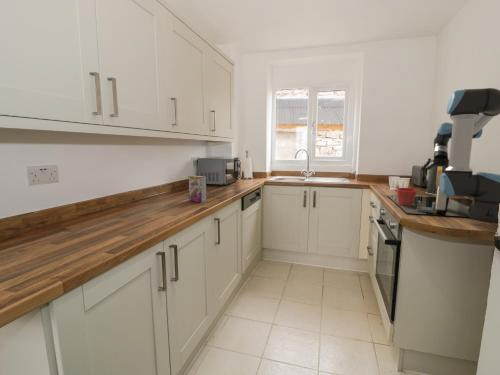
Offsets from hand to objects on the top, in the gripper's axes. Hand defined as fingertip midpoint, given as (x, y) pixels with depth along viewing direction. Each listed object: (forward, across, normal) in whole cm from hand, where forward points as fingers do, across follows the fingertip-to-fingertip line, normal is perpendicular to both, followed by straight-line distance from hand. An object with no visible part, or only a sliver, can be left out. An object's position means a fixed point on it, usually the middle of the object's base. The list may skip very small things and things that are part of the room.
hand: (440, 180), depth 164 cm
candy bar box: (+58, +136, +35) cm, 152 cm away
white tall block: (+19, 0, -4) cm, 19 cm away
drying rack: (+26, +8, +4) cm, 28 cm away
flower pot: (+16, +18, -6) cm, 25 cm away
